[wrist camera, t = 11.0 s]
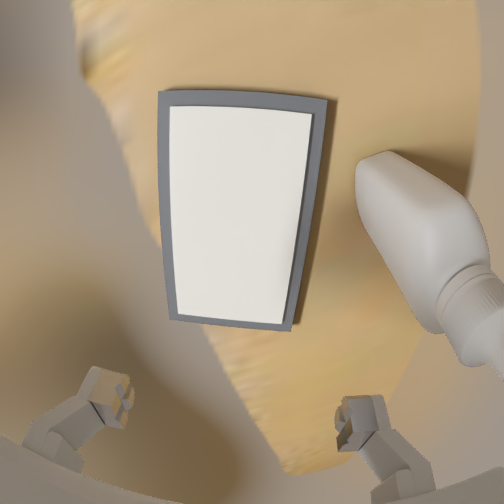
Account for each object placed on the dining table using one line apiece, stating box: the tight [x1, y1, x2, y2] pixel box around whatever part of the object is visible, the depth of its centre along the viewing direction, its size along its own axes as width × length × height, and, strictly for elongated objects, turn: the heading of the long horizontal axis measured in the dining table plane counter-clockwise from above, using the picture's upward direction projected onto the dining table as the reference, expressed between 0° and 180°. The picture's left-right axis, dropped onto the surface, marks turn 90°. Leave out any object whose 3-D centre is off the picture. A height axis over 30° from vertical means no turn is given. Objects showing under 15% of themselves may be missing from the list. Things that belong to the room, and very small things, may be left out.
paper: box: [169, 106, 312, 324], centre depth 16 cm, size 12×7×1 cm, turn 176°
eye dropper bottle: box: [355, 151, 504, 381], centre depth 10 cm, size 4×6×12 cm
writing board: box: [157, 90, 328, 332], centre depth 16 cm, size 14×8×1 cm, turn 176°
